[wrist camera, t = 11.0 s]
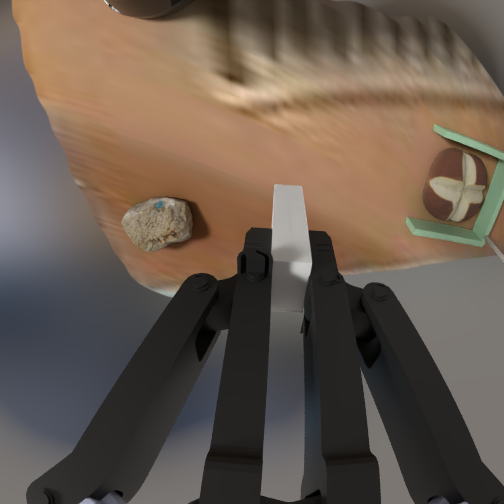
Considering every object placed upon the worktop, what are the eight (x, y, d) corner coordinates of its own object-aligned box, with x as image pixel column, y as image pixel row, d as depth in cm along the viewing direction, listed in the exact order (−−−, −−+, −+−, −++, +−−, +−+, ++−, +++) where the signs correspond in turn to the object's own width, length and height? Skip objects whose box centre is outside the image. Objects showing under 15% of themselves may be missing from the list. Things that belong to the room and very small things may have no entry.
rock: (202, 229, 47) (196, 245, 43) (144, 245, 50) (134, 261, 46) (182, 186, 43) (173, 199, 39) (122, 207, 45) (110, 221, 42)
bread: (411, 206, 41) (424, 223, 37) (436, 137, 35) (452, 148, 31) (463, 221, 41) (477, 237, 37) (488, 160, 35) (505, 172, 31)
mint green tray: (434, 123, 33) (499, 163, 21) (504, 152, 33) (566, 196, 20) (405, 222, 43) (444, 290, 30) (473, 235, 42) (517, 295, 30)
